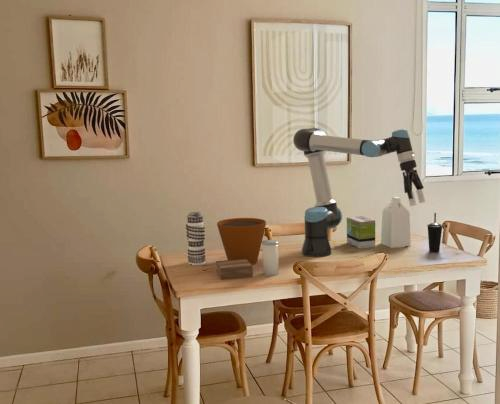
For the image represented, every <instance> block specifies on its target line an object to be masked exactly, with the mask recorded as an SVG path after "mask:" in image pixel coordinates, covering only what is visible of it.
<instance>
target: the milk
mask: <svg viewBox="0 0 500 404" xmlns="http://www.w3.org/2000/svg"><path fill="white" fill-rule="evenodd" d="M381 213H382V214H381V231H380V232H381V233H380V234H381V235H380V244H381V245H384V246H386V247H389V248H390V249H392V248H394V249H396V248H404V247H405V246H408V247H411V246H412V245H411V244H412V243H411V241H412V240H411V222H410V221H411V219H410V217H411V215H410V214H411V213H410V211H409V210H408V208H406V207H405V206H404V205H403V204H402V202H401V197H397V196H392V197H391V200H390V202H389V203H388V204H387V205H386V206H385V207H384V208H383V209H382V212H381ZM395 247H396V248H395ZM405 248H406V247H405Z"/></svg>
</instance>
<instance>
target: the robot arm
mask: <svg viewBox="0 0 500 404" xmlns="http://www.w3.org/2000/svg"><path fill="white" fill-rule="evenodd" d="M408 131H409V130H407V129H406V128H401V129H396V130H395V131H392V132H391V136H390V137H387V138H383V139H377V140H370V139H362V138H354V137H341V136H332V135H327V134H326V133H325V132H324V131H323V130H322V129H320V128H316V127H312V128H311V127H310V128H301V129H299V130H297V131H296V132H295V134H294V136H293V139H292V140H293V145H294V147H295V148H296V149H297V150H299V151H301V152H303V155H304V157H305V158H307V160H308V166H309V170H310V176H311V180H312V185H313V190H314V195H315V200H316V203H315V205H314V206H313V207H312V206H311V207H308V208H307V209H305V211H304V216H303V217H304V241H303V244H302V248H301V254H302V255H304V256H305V257H316V258H317V257H327V256H330V255H331V254H332V248H331V244H330V241H329V239H328V238H329V234H328V233H329V232H328V231H329V230H330V229H331V230H332V229H335V228H336V227H337V226H339V225H340V223H341V222H342V220H343V214H342V213H343V212H342V210H341V208H339V207H338V205H337V201H336V200H335V199H333V195H332V190H331V185H330V184H331V183H330V179H329V174H328V168H327V165H326V160H325V155H326V152H332V153H341V154H351V155H355V156H357V155H358V156H363V157H368V158H377V157H378V158H379V157H382V156H385V155H389V154H391V153H395V152H396V156H397V161H398V163H399V168H400V171H402V177H403V190H404V193H405V194H407V197H408V202H409V206H410V207H413V206H416V205H417V202H416V198H415V194H414V191H413V185H414V187H415V189H416V195H417V198H418V203H419V204H421V203H426V198H425V196H424V191H423V189H424V188H425V187H424V185H423V184H422V181H421V178H420V176H419V173H418V170H417V169H415V168H417V162H416V160H415V152H414V151H413V147H412V142H411V137H410V135H409V132H408Z"/></svg>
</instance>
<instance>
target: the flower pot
mask: <svg viewBox="0 0 500 404" xmlns="http://www.w3.org/2000/svg"><path fill="white" fill-rule="evenodd" d="M266 225H267V221H266V220H264V219H261V218H258V217H256V218H255V217H238V218H237V217H236V218H235V217H234V218H233V217H232V218H225V219H222V220H218V222H216V226H217V228H218V233H219V235H220V239H221V243H222V246H223V249H224V252H225V256H226V260H237V259H247V260H248V262H249V263H250V264H251V265H252V266H254V265H256V264H257V263H258V259H259V255H260V253H261V252H260V251H261V247H262V241H263V237H264V233H265V228H266Z"/></svg>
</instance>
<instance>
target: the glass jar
mask: <svg viewBox="0 0 500 404" xmlns="http://www.w3.org/2000/svg"><path fill="white" fill-rule="evenodd" d="M261 247H262V275H263V276H266V277H274V276H278V275H279V273H280V272H279V240H275V239H265V240H262V243H261Z"/></svg>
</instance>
